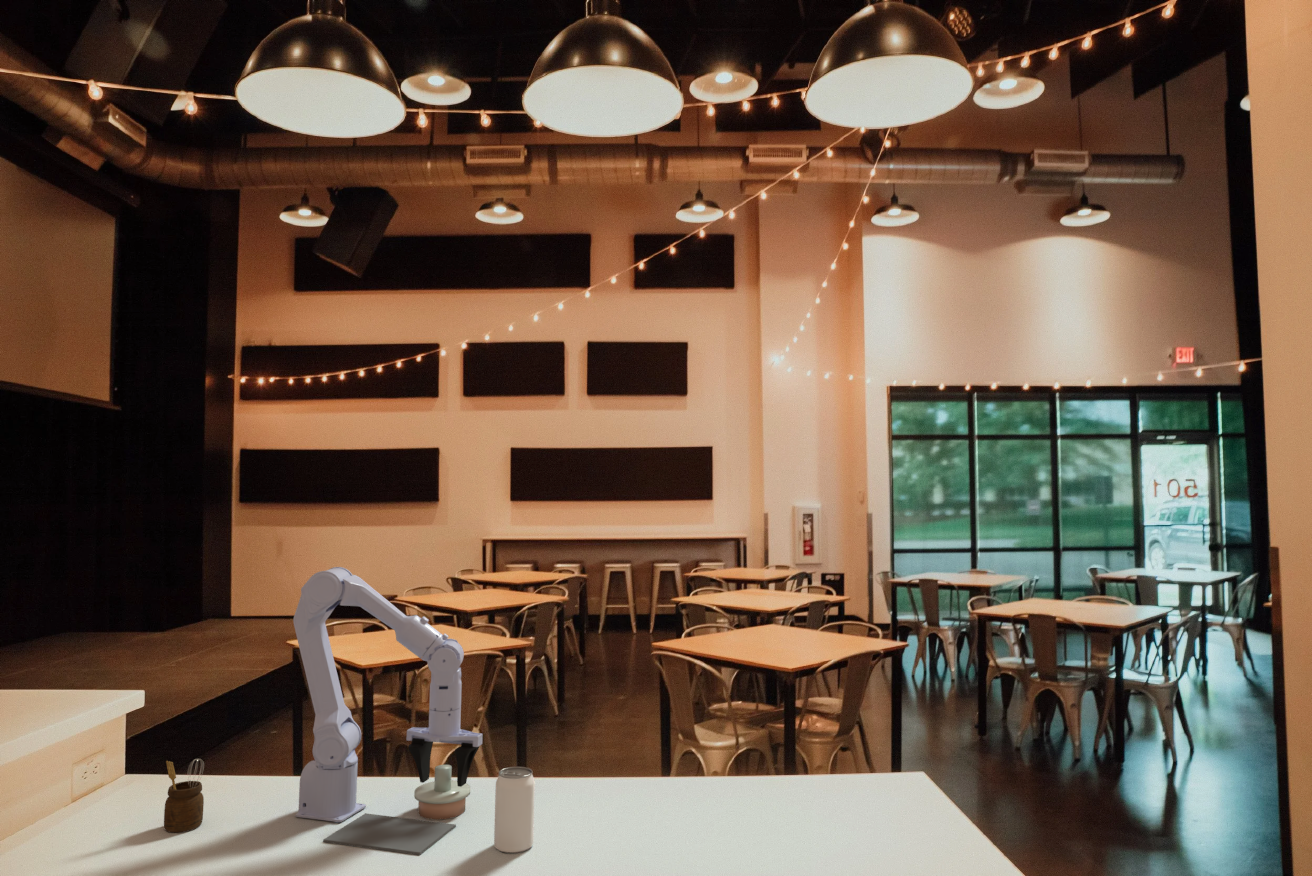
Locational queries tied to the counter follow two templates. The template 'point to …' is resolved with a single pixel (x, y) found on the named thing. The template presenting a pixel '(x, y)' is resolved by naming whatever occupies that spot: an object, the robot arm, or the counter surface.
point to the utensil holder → (183, 804)
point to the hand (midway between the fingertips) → (443, 782)
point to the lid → (441, 788)
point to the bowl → (441, 810)
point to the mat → (391, 833)
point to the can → (514, 810)
